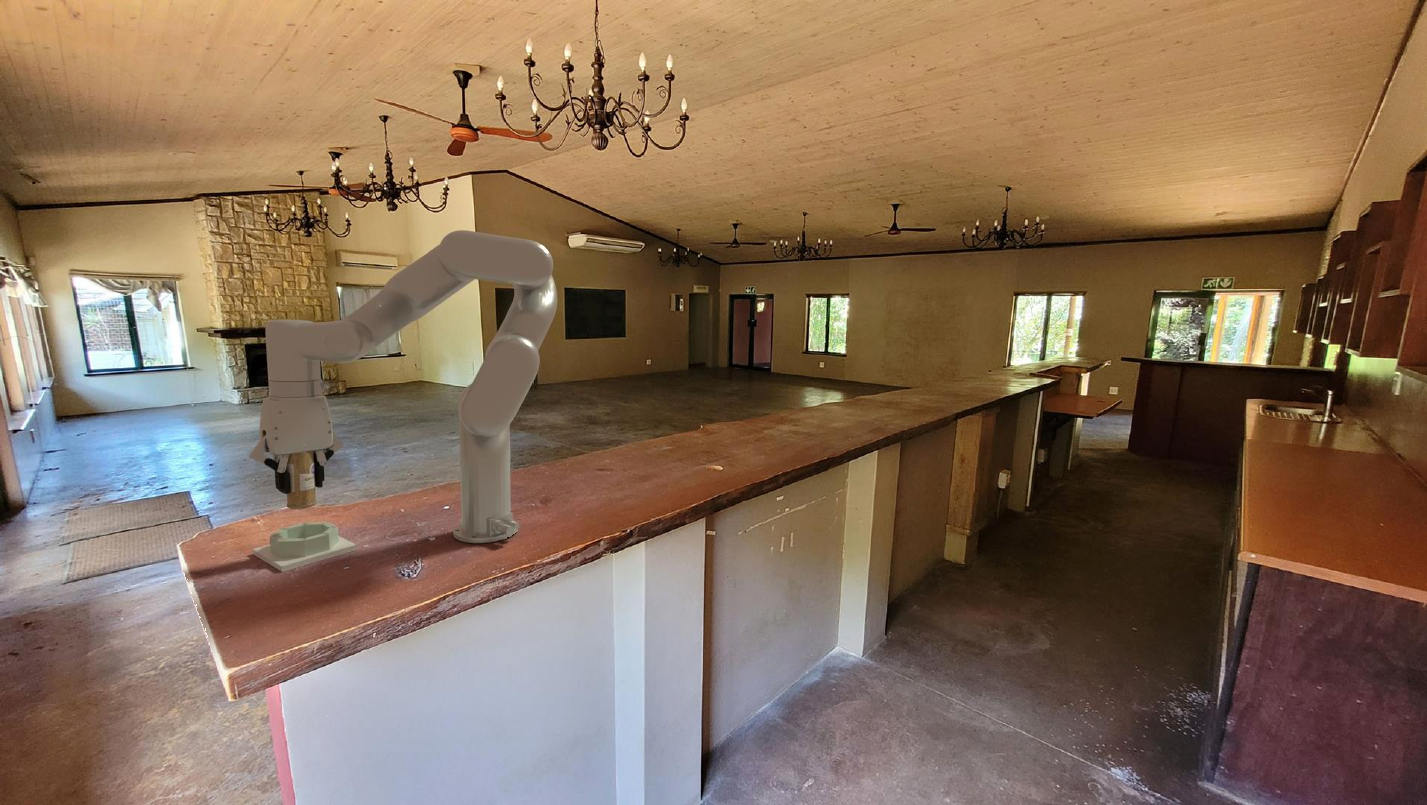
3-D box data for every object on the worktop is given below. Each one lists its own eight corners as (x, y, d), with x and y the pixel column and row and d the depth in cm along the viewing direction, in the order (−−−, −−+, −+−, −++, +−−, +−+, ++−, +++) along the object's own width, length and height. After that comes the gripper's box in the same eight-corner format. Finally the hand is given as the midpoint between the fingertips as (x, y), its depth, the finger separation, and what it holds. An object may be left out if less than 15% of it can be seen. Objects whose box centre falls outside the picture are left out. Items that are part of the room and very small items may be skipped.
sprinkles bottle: (316, 507, 103) (313, 435, 101) (285, 511, 100) (280, 437, 98) (317, 500, 106) (313, 430, 105) (287, 503, 104) (282, 432, 102)
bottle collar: (357, 549, 106) (356, 529, 106) (282, 571, 96) (280, 549, 96) (326, 534, 113) (325, 515, 112) (253, 554, 103) (251, 533, 102)
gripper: (337, 384, 109) (341, 476, 112) (227, 391, 95) (235, 495, 98) (357, 388, 105) (360, 483, 108) (246, 395, 91) (253, 504, 94)
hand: (300, 488), depth 103 cm, fingers closed on sprinkles bottle, 4 cm apart
